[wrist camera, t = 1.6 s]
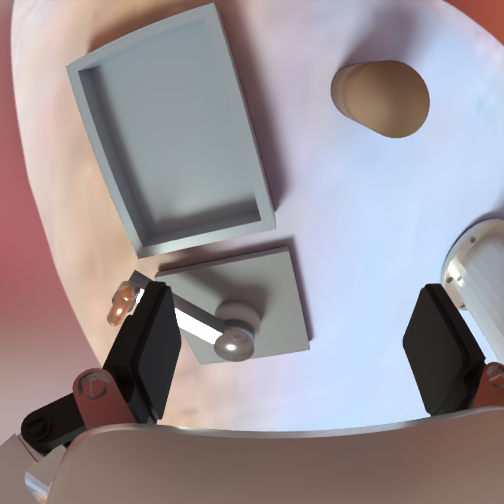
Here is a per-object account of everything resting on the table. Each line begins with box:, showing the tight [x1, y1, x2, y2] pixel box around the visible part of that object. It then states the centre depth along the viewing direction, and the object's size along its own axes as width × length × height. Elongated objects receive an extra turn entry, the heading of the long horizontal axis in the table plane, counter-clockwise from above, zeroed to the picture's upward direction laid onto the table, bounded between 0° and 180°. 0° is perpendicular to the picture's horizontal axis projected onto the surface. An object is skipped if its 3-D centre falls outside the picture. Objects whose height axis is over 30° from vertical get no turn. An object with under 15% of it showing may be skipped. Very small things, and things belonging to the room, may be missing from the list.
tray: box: [66, 3, 276, 259], centre depth 24 cm, size 13×19×3 cm
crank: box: [107, 270, 255, 362], centre depth 29 cm, size 14×5×5 cm, turn 54°
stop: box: [331, 60, 430, 138], centre depth 20 cm, size 5×5×8 cm
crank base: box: [154, 246, 310, 365], centre depth 34 cm, size 14×14×3 cm
